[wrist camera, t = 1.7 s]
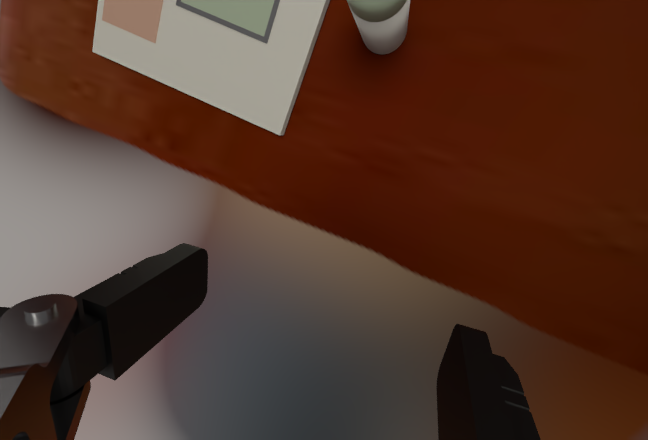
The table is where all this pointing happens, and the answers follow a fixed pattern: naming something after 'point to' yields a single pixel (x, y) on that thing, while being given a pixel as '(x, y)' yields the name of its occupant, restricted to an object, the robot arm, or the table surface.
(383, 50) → the marker
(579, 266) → the table surface
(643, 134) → the table surface
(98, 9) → the picture board
